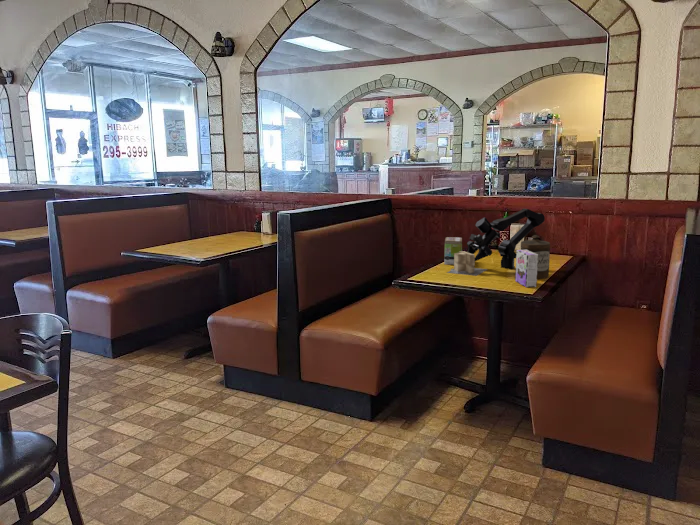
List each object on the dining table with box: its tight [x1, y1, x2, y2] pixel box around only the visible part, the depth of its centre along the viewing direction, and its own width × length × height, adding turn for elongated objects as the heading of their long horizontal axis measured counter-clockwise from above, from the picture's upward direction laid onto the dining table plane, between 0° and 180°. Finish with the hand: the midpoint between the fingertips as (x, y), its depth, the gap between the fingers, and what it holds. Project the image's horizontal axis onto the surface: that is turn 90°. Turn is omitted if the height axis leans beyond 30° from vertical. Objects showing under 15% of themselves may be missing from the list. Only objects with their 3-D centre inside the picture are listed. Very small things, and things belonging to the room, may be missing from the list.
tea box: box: [443, 236, 463, 265], centre depth 331 cm, size 15×10×15 cm, turn 168°
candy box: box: [515, 249, 538, 288], centre depth 276 cm, size 14×6×16 cm, turn 5°
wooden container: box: [520, 234, 551, 280], centre depth 292 cm, size 15×15×22 cm
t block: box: [453, 250, 476, 273], centre depth 306 cm, size 8×12×10 cm, turn 18°
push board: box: [446, 267, 488, 277], centre depth 307 cm, size 17×18×2 cm
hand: (469, 259), depth 307 cm, fingers open, 9 cm apart
